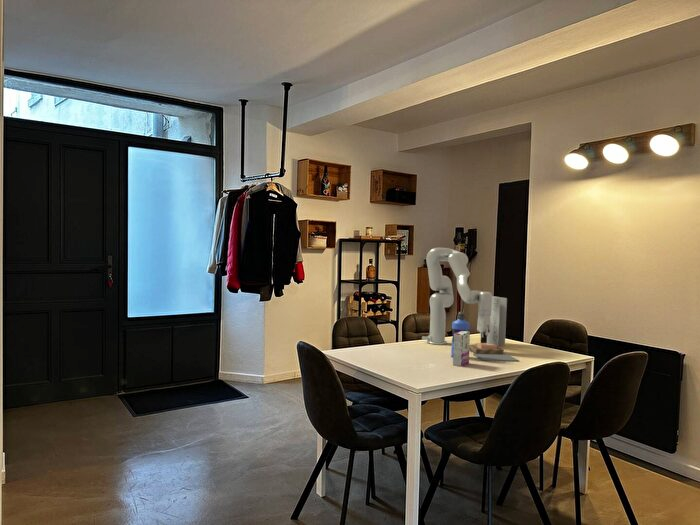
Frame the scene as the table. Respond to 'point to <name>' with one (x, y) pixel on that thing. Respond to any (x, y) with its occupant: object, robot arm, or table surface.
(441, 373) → the table surface
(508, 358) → the mat
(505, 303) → the tall grey box
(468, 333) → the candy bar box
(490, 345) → the tile
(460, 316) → the water bottle
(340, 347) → the table surface
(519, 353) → the table surface
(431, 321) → the robot arm
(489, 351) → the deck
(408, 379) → the table surface
